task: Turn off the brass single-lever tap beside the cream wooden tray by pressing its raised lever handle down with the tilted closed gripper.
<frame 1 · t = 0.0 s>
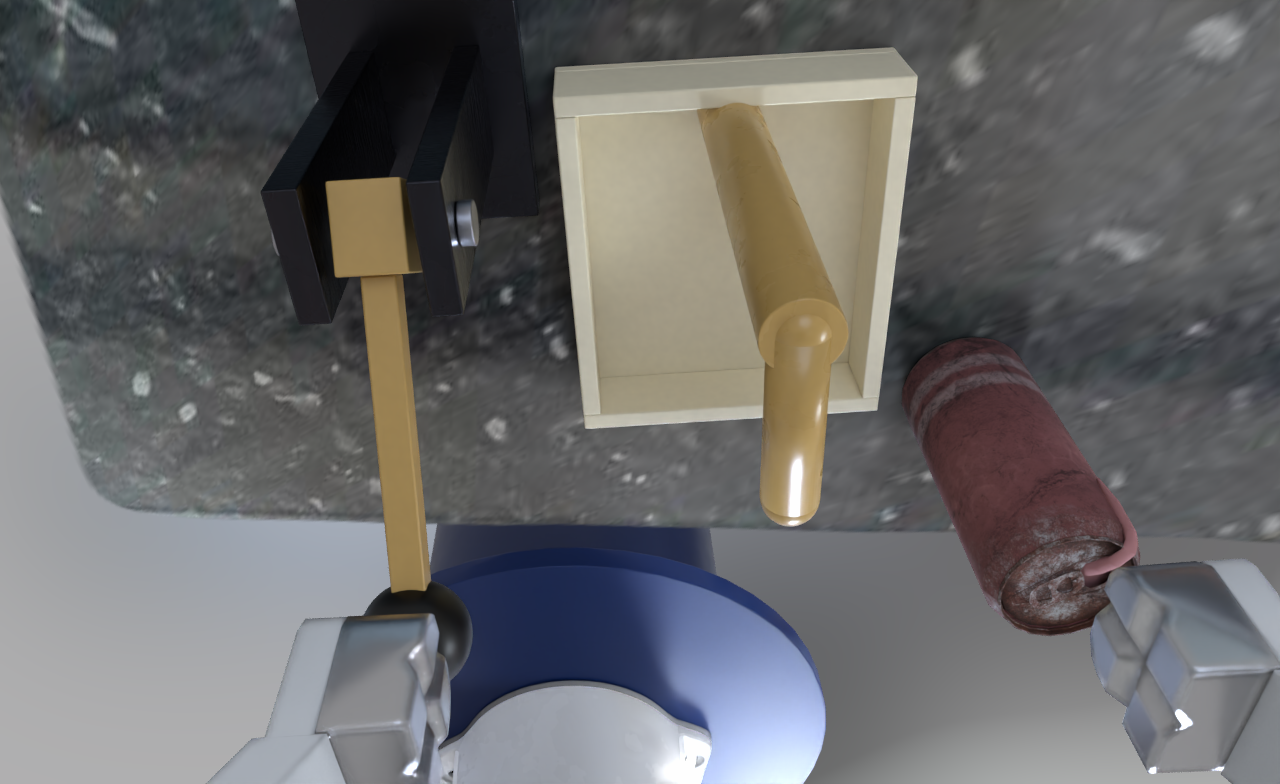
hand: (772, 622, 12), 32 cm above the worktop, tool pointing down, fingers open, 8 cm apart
tap lever: (397, 444, 31), point 15 cm above the worktop, hinge at 28.0°
can: (960, 378, 50), on the worktop
cream wooden tray: (723, 232, 44), on the worktop
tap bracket: (427, 94, 40), on the worktop
spout: (724, 100, 40), resting on cream wooden tray
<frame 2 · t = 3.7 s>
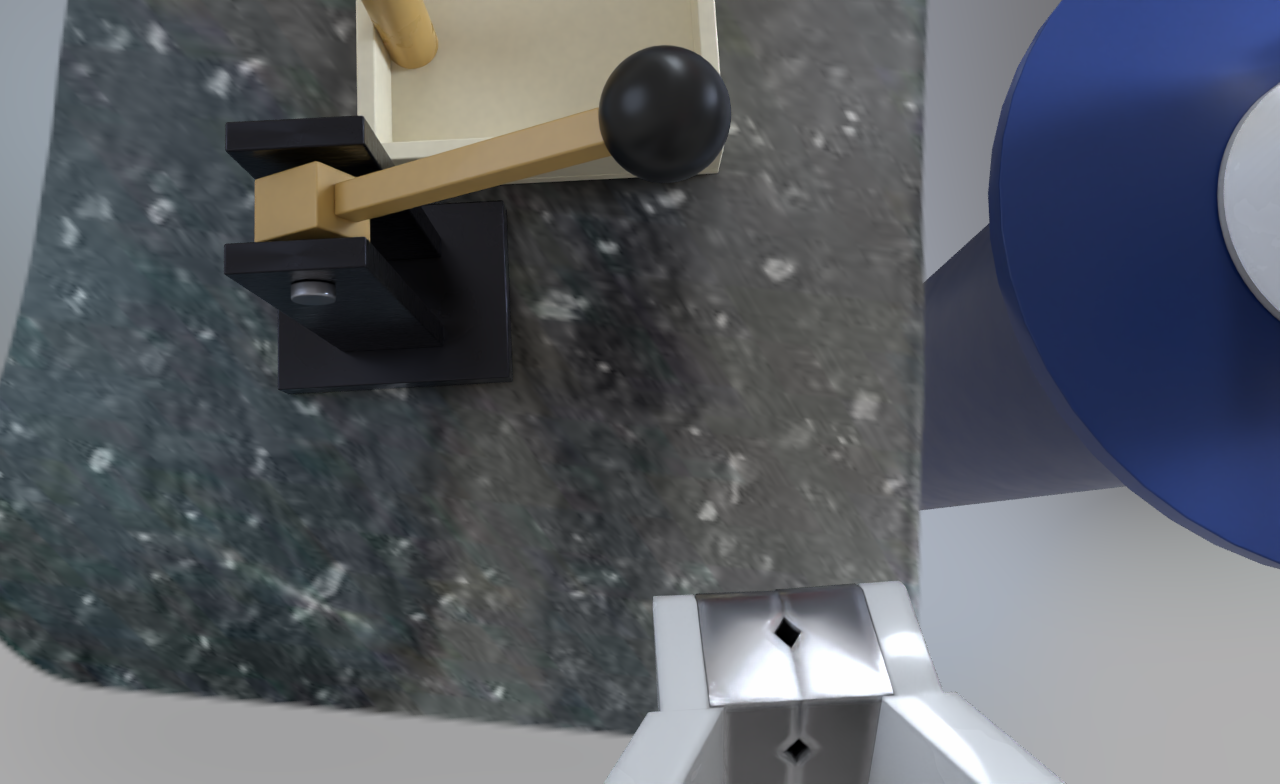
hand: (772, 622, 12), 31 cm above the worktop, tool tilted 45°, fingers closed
tap lever: (476, 167, 30), point 15 cm above the worktop, hinge at 28.0°
cream wooden tray: (543, 44, 46), on the worktop
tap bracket: (398, 300, 44), on the worktop
spout: (415, 51, 46), resting on cream wooden tray
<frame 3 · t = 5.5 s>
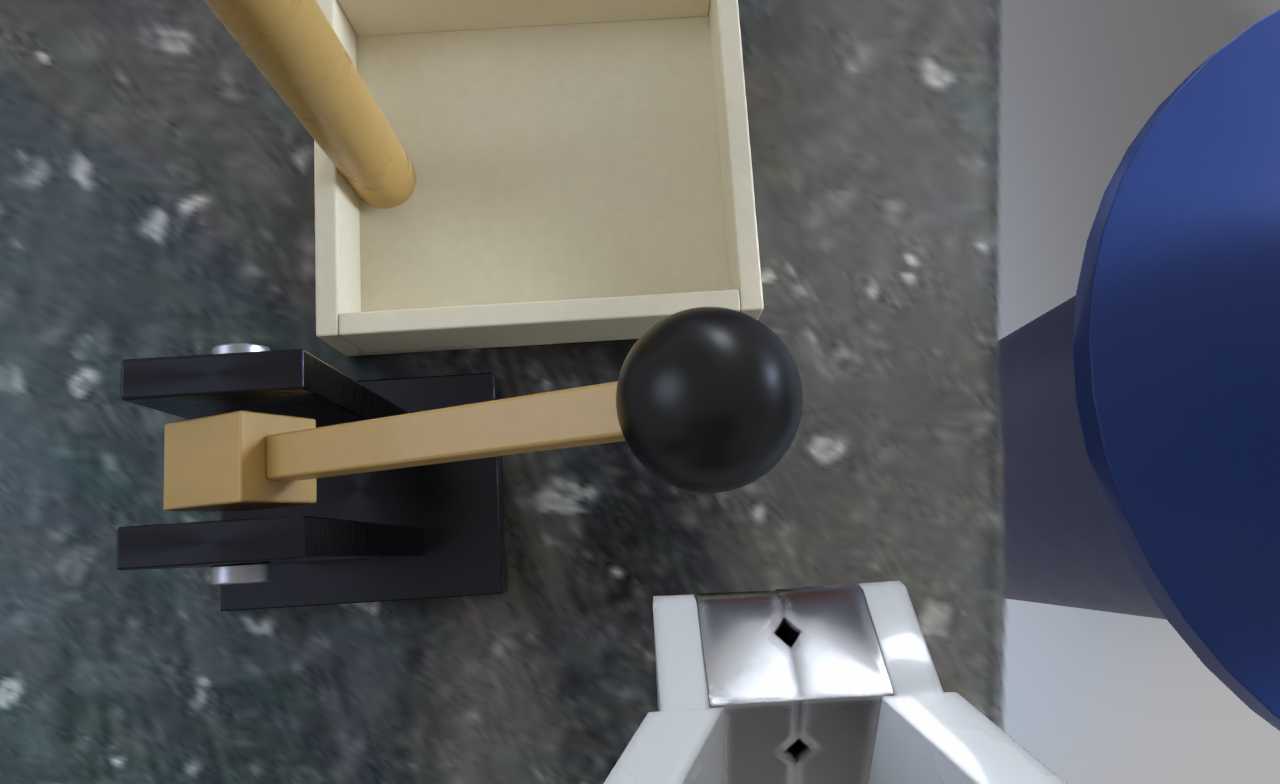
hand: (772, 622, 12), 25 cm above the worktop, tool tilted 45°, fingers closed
tap lever: (450, 435, 22), point 15 cm above the worktop, hinge at 28.0°
cream wooden tray: (541, 175, 39), on the worktop
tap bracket: (369, 491, 37), on the worktop
spout: (389, 184, 39), resting on cream wooden tray
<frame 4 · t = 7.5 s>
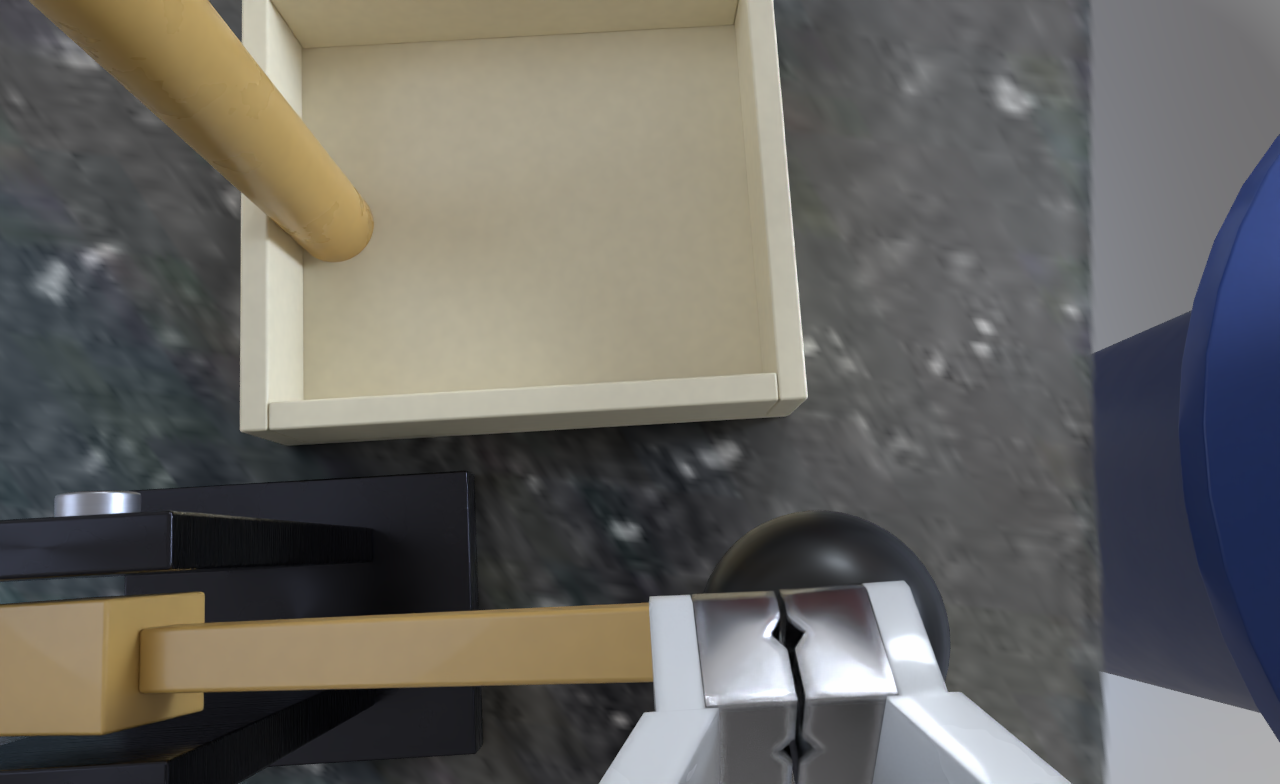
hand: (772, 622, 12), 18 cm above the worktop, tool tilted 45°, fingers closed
tap lever: (429, 648, 16), point 14 cm above the worktop, hinge at 16.1°, touching gripper
cream wooden tray: (528, 220, 32), on the worktop
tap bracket: (312, 616, 30), on the worktop
spout: (341, 231, 32), resting on cream wooden tray
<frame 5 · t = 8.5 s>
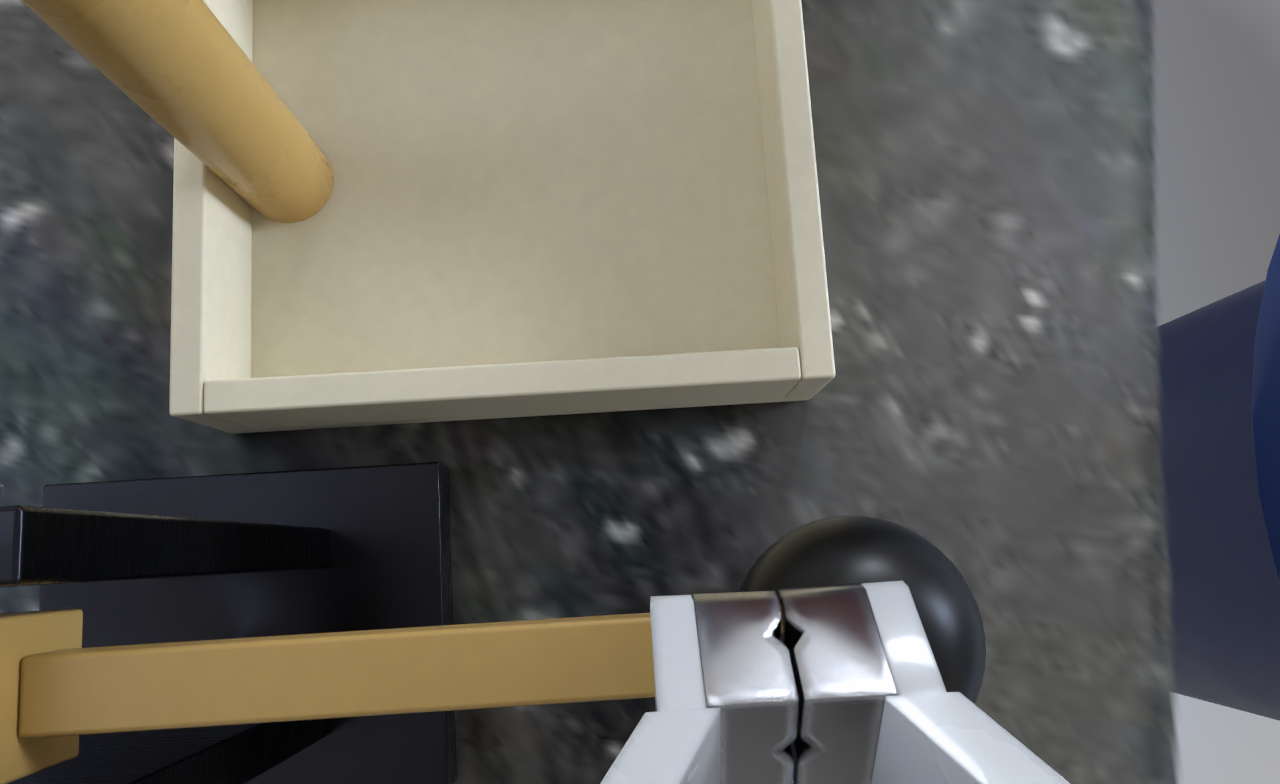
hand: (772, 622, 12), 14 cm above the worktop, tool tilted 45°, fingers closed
tap lever: (417, 668, 14), point 12 cm above the worktop, hinge at -1.7°, touching gripper
cream wooden tray: (511, 177, 28), on the worktop
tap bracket: (260, 630, 26), on the worktop
spout: (297, 189, 28), resting on cream wooden tray
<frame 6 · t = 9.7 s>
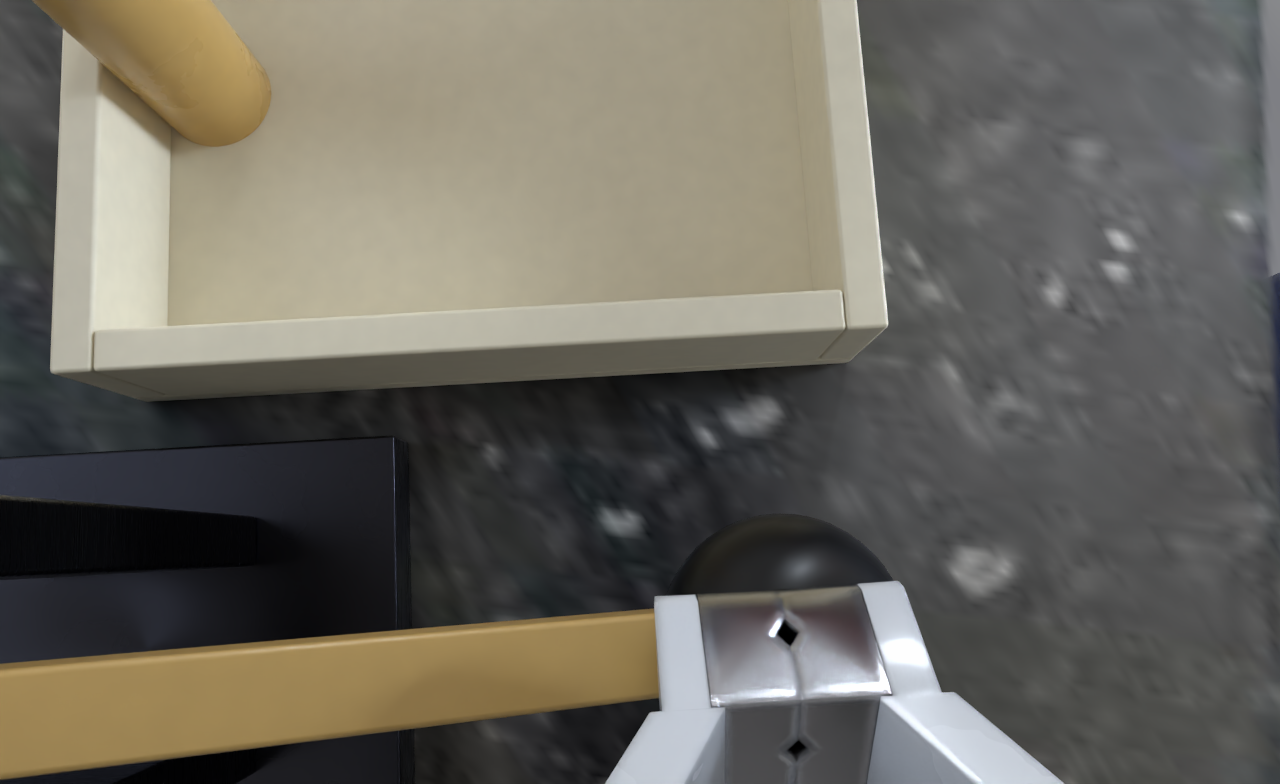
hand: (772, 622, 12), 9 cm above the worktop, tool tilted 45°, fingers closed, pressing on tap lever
tap lever: (330, 685, 12), point 9 cm above the worktop, hinge at -23.5°, touching gripper
cream wooden tray: (488, 94, 23), on the worktop
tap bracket: (176, 642, 21), on the worktop
spout: (228, 108, 23), resting on cream wooden tray
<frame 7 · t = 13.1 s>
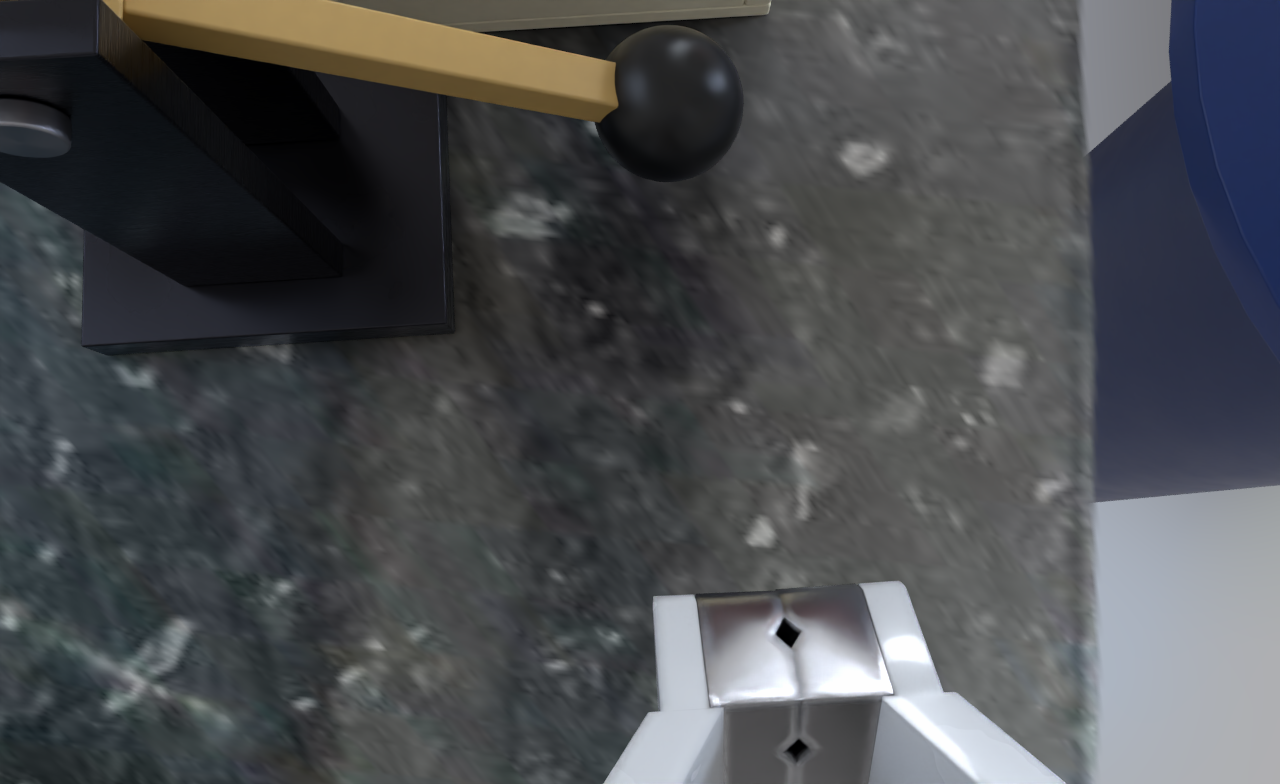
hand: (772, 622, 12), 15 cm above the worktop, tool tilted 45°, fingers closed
tap lever: (409, 53, 20), point 9 cm above the worktop, hinge at -30.2°
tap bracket: (279, 210, 29), on the worktop
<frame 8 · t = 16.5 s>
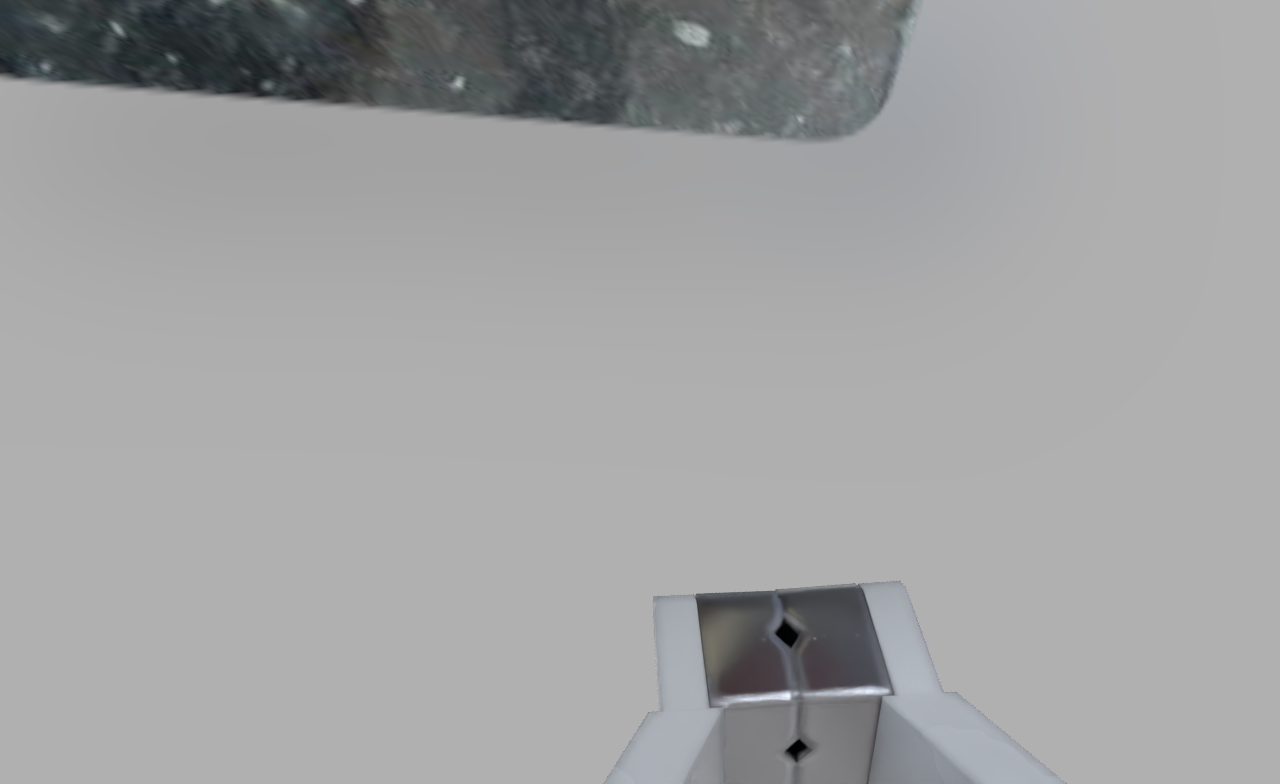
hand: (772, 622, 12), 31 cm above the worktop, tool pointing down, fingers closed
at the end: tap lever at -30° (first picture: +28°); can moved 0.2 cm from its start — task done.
